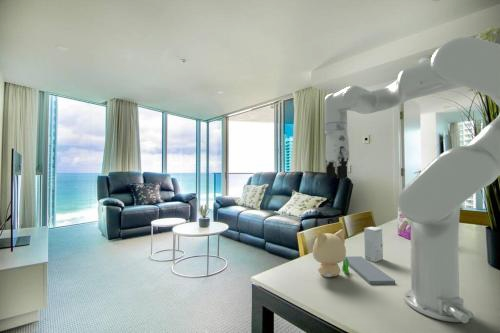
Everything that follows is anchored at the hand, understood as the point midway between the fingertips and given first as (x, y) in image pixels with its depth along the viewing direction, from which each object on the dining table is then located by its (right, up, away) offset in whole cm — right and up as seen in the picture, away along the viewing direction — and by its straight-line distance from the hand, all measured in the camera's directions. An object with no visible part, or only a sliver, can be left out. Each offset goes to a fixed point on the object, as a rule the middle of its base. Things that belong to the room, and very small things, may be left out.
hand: (336, 177), depth 80 cm
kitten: (-3, -33, -4) cm, 33 cm away
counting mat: (+10, -32, -1) cm, 34 cm away
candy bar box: (+53, -34, +39) cm, 74 cm away
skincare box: (+19, -33, +10) cm, 39 cm away
